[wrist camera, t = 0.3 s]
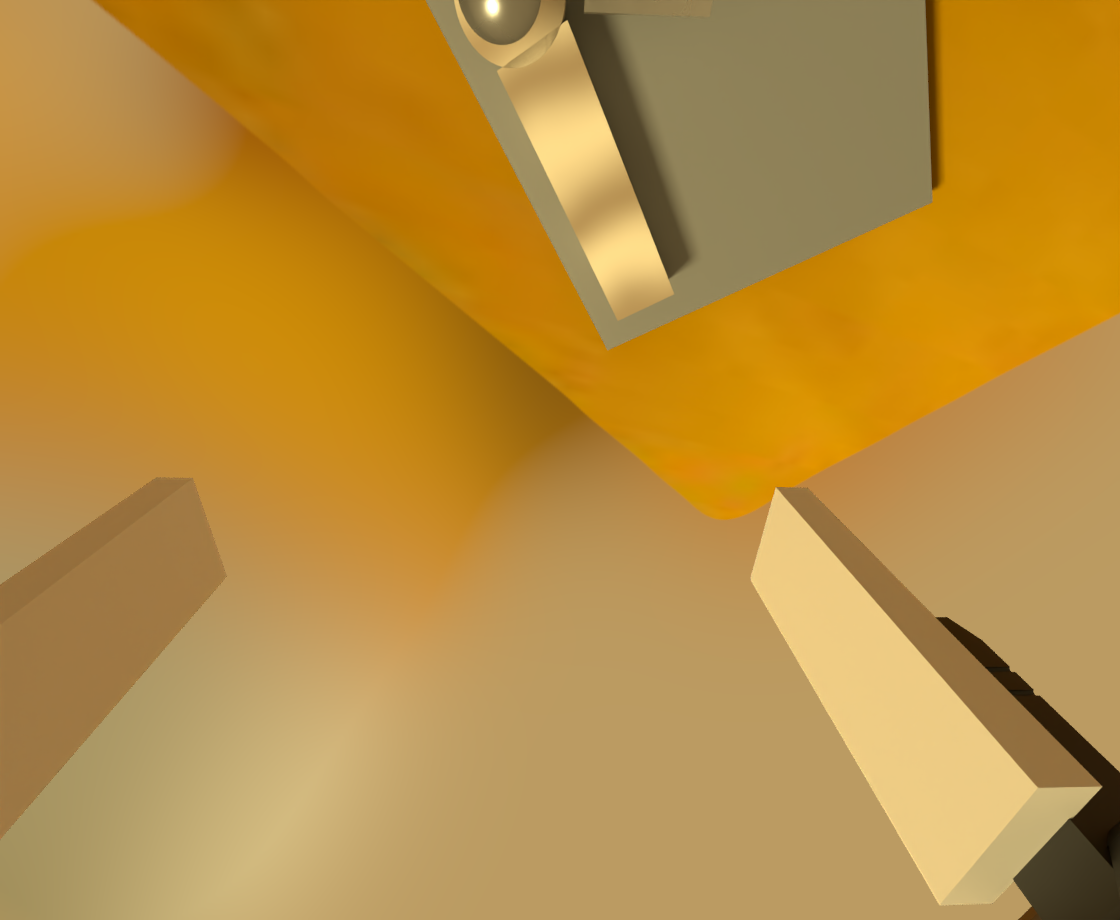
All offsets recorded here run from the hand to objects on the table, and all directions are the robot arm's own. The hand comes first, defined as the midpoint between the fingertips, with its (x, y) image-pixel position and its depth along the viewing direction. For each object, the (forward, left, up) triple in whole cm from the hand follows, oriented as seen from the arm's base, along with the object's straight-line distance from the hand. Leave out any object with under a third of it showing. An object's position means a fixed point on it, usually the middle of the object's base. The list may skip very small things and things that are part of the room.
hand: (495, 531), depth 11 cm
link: (-4, -3, -26) cm, 26 cm away
